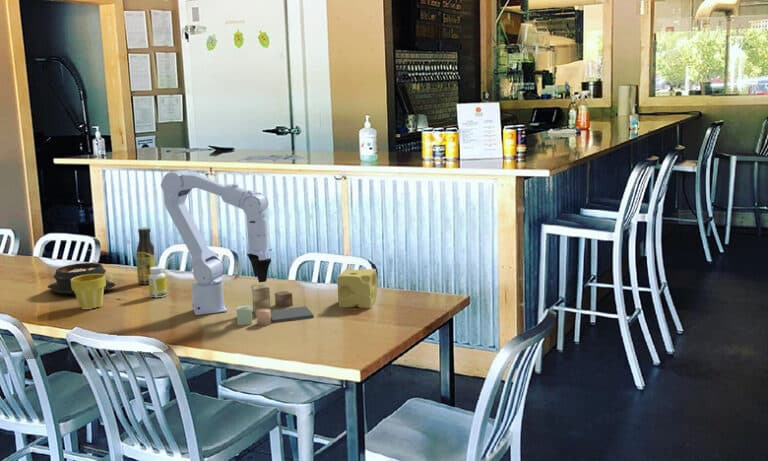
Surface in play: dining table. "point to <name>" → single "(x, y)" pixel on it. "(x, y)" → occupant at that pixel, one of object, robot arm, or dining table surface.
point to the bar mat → (290, 314)
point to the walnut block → (283, 299)
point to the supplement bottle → (157, 282)
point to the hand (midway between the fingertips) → (260, 279)
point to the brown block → (263, 317)
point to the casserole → (74, 270)
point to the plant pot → (89, 289)
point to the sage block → (244, 315)
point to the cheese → (357, 288)
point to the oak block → (261, 297)
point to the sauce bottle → (144, 255)
